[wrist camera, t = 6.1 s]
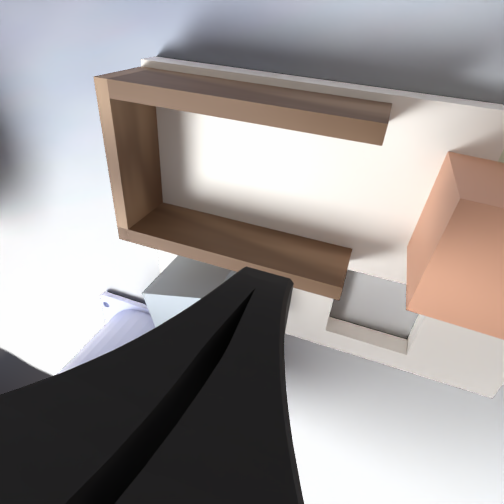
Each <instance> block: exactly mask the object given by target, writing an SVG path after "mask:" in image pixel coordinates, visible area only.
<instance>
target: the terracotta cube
mask: <svg viewBox="0 0 504 504" xmlns="http://www.w3.org/2000/svg"><path fill="white" fill-rule="evenodd" d="M406 310H408V311H411V312H414V313H418V314H421V315H424V316H427V317H431V318H434V319H437V320H441V321H444V322H447V323H450V324H454V325H457V326H460V327H463V328H467V329H470V330H473V331H477V332H480V333H483V334H486V335H490V336H493V337H496V338H499V339H503V340H504V163H502V162H497V161H492V160H487V159H483V158H478V157H473V156H468V155H464V154H459V153H454V152H449V151H448V152H447V155H446V157H445V159H444V162H443V164H442V166H441V169H440V171H439V173H438V176H437V178H436V180H435V183H434V185H433V187H432V190H431V192H430V194H429V197H428V199H427V201H426V204H425V206H424V208H423V211H422V213H421V215H420V218H419V220H418V222H417V225H416V227H415V229H414V232H413V234H412V236H411V239H410V241H409V243H408V246H407V284H406Z"/></svg>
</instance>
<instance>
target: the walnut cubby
mask: <svg viewBox="0 0 504 504" xmlns="http://www.w3.org/2000/svg"><path fill="white" fill-rule="evenodd" d="M94 83H95V89H96V95H97V102H98V108H99V114H100V121H101V127H102V133H103V139H104V146H105V152H106V158H107V164H108V171H109V177H110V183H111V189H112V196H113V202H114V208H115V215H116V221H117V227H118V233H119V239H122V240H126V241H129V242H133V243H136V244H140V245H143V246H147V247H150V248H154V249H158V250H161V251H165V252H168V253H172V254H175V255H179V256H182V257H186V258H190V259H193V260H197V261H200V262H204V263H207V264H211V265H214V266H218V267H221V268H225V269H229V270H232V271H236V272H238V271H239V270H241V269H242V268H244V267H246V266H247V267H250V268H254V269H258V270H261V271H265V272H268V273H272V274H276V275H279V276H283V277H287V278H290V279H291V280H292V282H293V283H294V285H293V288H296V289H300V290H303V291H307V292H310V293H314V294H317V295H321V296H324V297H328V298H331V299H335V300H340V296H341V293H342V289H343V285H344V281H345V277H346V273H347V269H348V265H349V261H350V257H351V252H352V249H351V248H347V247H343V246H339V245H335V244H331V243H327V242H323V241H318V240H314V239H310V238H306V237H302V236H298V235H294V234H290V233H286V232H282V231H278V230H274V229H270V228H266V227H261V226H257V225H253V224H249V223H245V222H241V221H237V220H233V219H229V218H225V217H221V216H217V215H213V214H209V213H204V212H200V211H196V210H192V209H188V208H184V207H180V206H176V205H172V204H168V203H164V202H163V195H162V182H161V168H160V155H159V141H158V128H157V114H156V107H162V108H168V109H173V110H179V111H185V112H191V113H196V114H202V115H208V116H213V117H219V118H225V119H231V120H236V121H242V122H248V123H253V124H259V125H265V126H270V127H276V128H282V129H288V130H293V131H299V132H305V133H310V134H316V135H322V136H327V137H333V138H339V139H345V140H350V141H356V142H362V143H367V144H373V145H379V146H382V145H383V141H384V137H385V134H386V130H387V127H388V123H389V118H390V112H391V107H392V103H386V102H379V101H372V100H365V99H359V98H352V97H345V96H338V95H331V94H325V93H318V92H311V91H304V90H297V89H291V88H284V87H277V86H270V85H263V84H257V83H250V82H243V81H236V80H229V79H223V78H216V77H209V76H202V75H195V74H189V73H182V72H175V71H168V70H161V69H155V68H148V67H137V68H132V69H128V70H123V71H118V72H113V73H109V74H104V75H99V76H94Z"/></svg>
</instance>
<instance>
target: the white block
mask: <svg viewBox="0 0 504 504" xmlns="http://www.w3.org/2000/svg"><path fill="white" fill-rule="evenodd" d="M235 273H237V272H236V271H232V270H229V269H225V268H221V267H218V266H214V265H211V264H207V263H204V262H200V261H197V260H193V259H190V258H186V257H182V256H179V255H178V256H177V257H176V258H175V259H174V260H173V261H172V262H171V263H170V264H169V265H168V266H167V267H166V268H165V269H164V270H163V272H162V273H161V274H160V275H159V276H158V277H157V278H156V279H155V280H154V281H153V282H152V283H151V284H150V285H149V286H148V287H147V288H146V289H145V290H144V292H143V293H142V295H143V297H144V300H145V302H146V305H147V307H148V310H149V312H150V315H151V317H152V320H153V322H154V325H155V327H157V326H159V325H161V324H162V323H164V322H166V321H167V320H169V319H170V318H172V317H174V316H175V315H177V314H179V313H180V312H182V311H183V310H185V309H186V308H188V307H189V306H191V305H192V304H194V303H195V302H197V301H198V300H200V299H201V298H203V297H204V296H206V295H207V294H208V293H210V292H211V291H213V290H214V289H215V288H217V287H218V286H219V285H221V284H222V283H224V282H225V281H226V280H228V279H229V278H230V277H231V276H233V275H234V274H235Z"/></svg>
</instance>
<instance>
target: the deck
mask: <svg viewBox="0 0 504 504" xmlns="http://www.w3.org/2000/svg"><path fill="white" fill-rule="evenodd" d="M141 67H148V68H155V69H161V70H168V71H175V72H182V73H189V74H195V75H202V76H209V77H216V78H223V79H229V80H236V81H243V82H250V83H257V84H263V85H270V86H277V87H284V88H291V89H297V90H304V91H311V92H318V93H325V94H331V95H338V96H345V97H352V98H359V99H365V100H372V101H379V102H386V103H392V107H391V112H390V118H389V123H388V127H387V130H386V134H385V137H384V141H383V145H382V146H379V145H373V144H367V143H362V142H356V141H350V140H345V139H339V138H333V137H327V136H322V135H316V134H310V133H305V132H299V131H293V130H288V129H282V128H276V127H270V126H265V125H259V124H253V123H248V122H242V121H236V120H231V119H225V118H219V117H213V116H208V115H202V114H196V113H191V112H185V111H179V110H173V109H168V108H162V107H156V114H157V128H158V141H159V155H160V168H161V182H162V195H163V202H164V203H168V204H172V205H176V206H180V207H184V208H188V209H192V210H196V211H200V212H204V213H209V214H213V215H217V216H221V217H225V218H229V219H233V220H237V221H241V222H245V223H249V224H253V225H257V226H261V227H266V228H270V229H274V230H278V231H282V232H286V233H290V234H294V235H298V236H302V237H306V238H310V239H314V240H318V241H323V242H327V243H331V244H335V245H339V246H343V247H347V248H351V249H352V252H351V257H350V261H349V265H348V269H347V270H351V271H355V272H359V273H363V274H367V275H371V276H374V277H378V278H382V279H386V280H390V281H394V282H397V283H401V284H405V285H406V284H407V246H408V243H409V241H410V239H411V236H412V234H413V232H414V229H415V227H416V225H417V222H418V220H419V218H420V215H421V213H422V211H423V208H424V206H425V204H426V201H427V199H428V197H429V194H430V192H431V190H432V187H433V185H434V183H435V180H436V178H437V176H438V173H439V171H440V169H441V166H442V164H443V162H444V159H445V157H446V155H447V152H448V151H449V152H454V153H459V154H464V155H468V156H473V157H478V158H483V159H487V160H492V161H497V162H502V163H504V105H503V104H496V103H489V102H482V101H474V100H467V99H460V98H453V97H445V96H438V95H431V94H424V93H416V92H409V91H402V90H395V89H387V88H380V87H373V86H366V85H358V84H351V83H344V82H337V81H329V80H322V79H315V78H308V77H301V76H293V75H286V74H279V73H272V72H264V71H257V70H250V69H243V68H235V67H228V66H221V65H214V64H206V63H199V62H192V61H185V60H177V59H170V58H163V57H156V56H155V57H150V58H144V59H141ZM158 255H159V266H160V274H161V273H162V272H163V270H164V269H165V268H166V267H167V266H168V265H169V264H170V263H171V262H172V261H173V260H174V259H175V258H176V257H177V256H178V255H175V254H172V253H168V252H165V251H161V250H158ZM333 300H334V299H331V298H328V297H324V296H321V295H317V294H314V293H310V292H307V291H303V290H300V289H296V288H293V291H292V296H291V302H290V307H289V313H288V319H287V324H286V330H285V334H288V335H291V336H294V337H298V338H301V339H304V340H307V341H310V342H313V343H317V344H320V345H323V346H326V347H329V348H332V349H336V350H339V351H342V352H345V353H348V354H352V355H355V356H358V357H361V358H364V359H367V360H371V361H374V362H377V363H380V364H383V365H387V366H390V367H393V368H396V369H399V370H402V371H406V372H409V373H412V374H415V375H418V376H421V377H425V378H428V379H431V380H434V381H437V382H441V383H444V384H447V385H450V386H453V387H456V388H460V389H463V390H466V391H469V392H472V393H476V394H479V395H482V396H485V397H488V398H491V399H492V398H493V397H494V396H495V394H496V393H497V392H498V390H499V389H500V388H501V386H502V385H503V384H504V340H503V339H499V338H496V337H493V336H490V335H486V334H483V333H480V332H477V331H473V330H470V329H467V328H463V327H460V326H457V325H454V324H450V323H447V322H444V321H441V320H437V319H434V318H431V317H427V316H424V315H421V314H418V317H417V319H416V321H415V323H414V325H413V328H412V330H411V332H410V334H409V336H408V339H403V338H400V337H397V336H393V335H390V334H386V333H383V332H380V331H376V330H373V329H369V328H366V327H363V326H359V325H356V324H352V323H349V322H346V321H342V320H339V319H335V318H332V317H329V315H330V311H331V307H332V303H333Z"/></svg>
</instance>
